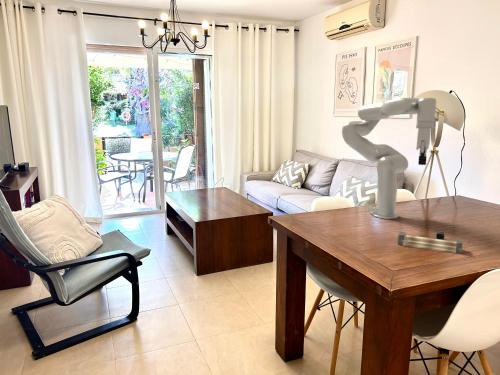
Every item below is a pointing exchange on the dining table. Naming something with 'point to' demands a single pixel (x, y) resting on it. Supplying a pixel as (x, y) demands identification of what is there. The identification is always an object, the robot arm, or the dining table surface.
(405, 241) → the striped bar with caps
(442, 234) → the black block
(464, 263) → the dining table surface
